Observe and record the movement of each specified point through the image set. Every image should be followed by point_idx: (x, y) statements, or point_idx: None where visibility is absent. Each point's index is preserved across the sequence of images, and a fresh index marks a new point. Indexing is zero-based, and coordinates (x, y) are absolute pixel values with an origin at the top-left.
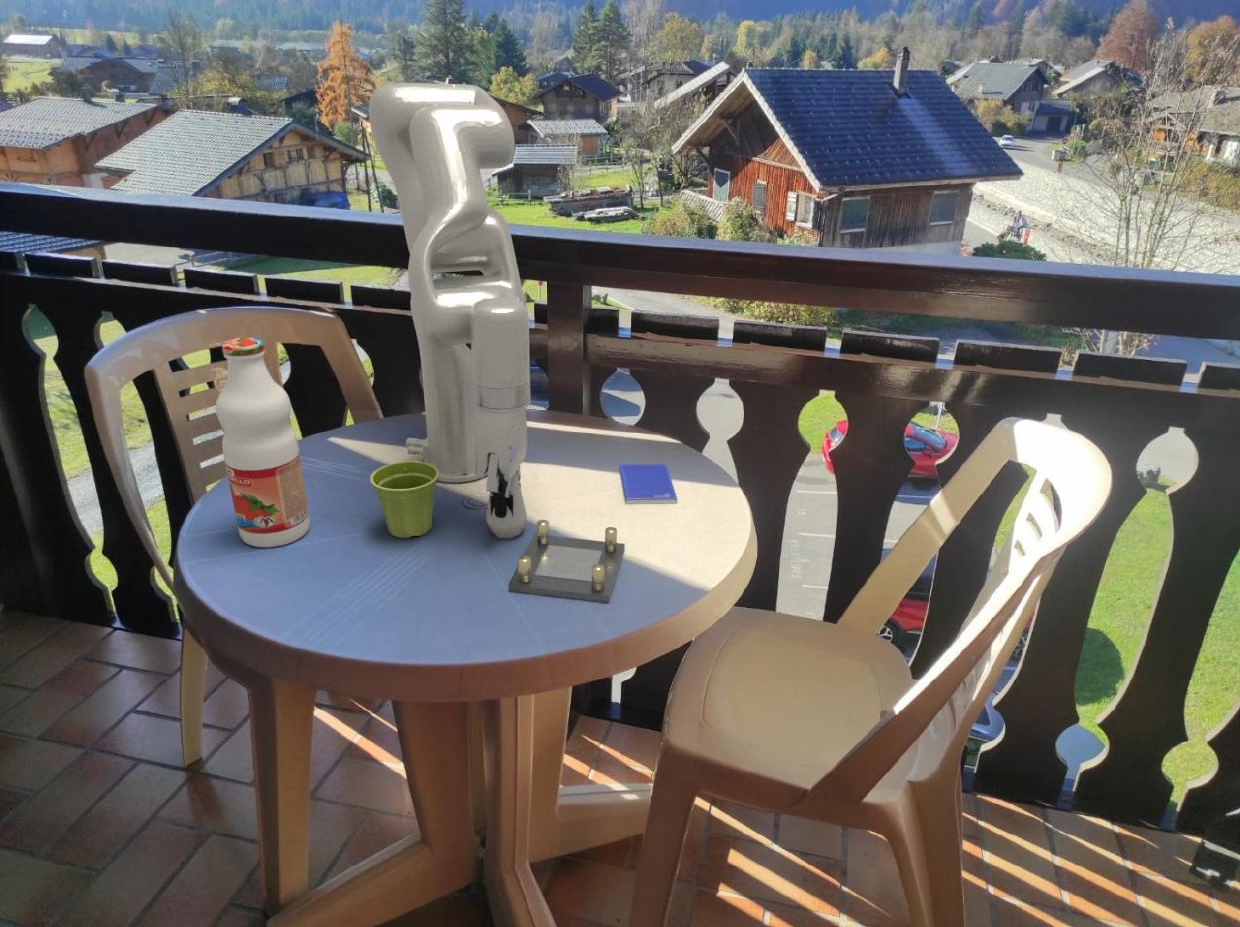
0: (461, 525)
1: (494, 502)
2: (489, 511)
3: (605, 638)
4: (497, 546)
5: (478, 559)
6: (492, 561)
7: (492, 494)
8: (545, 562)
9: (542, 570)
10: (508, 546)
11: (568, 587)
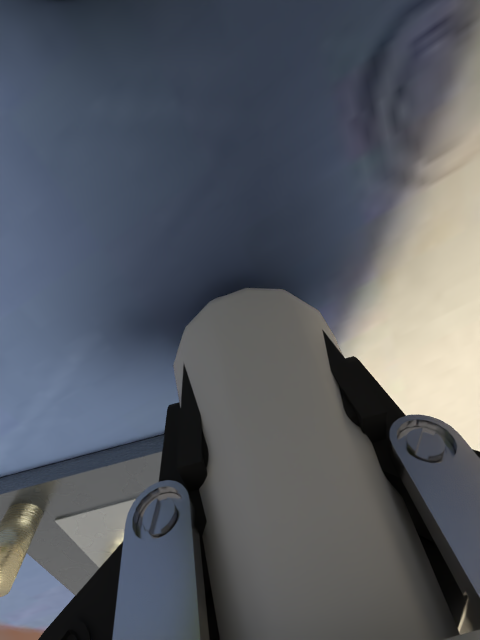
0: (212, 147)
1: (161, 465)
2: (194, 360)
3: (7, 624)
4: (150, 354)
5: (45, 348)
6: (67, 386)
7: (112, 555)
8: (119, 512)
9: (85, 522)
10: (169, 379)
11: (68, 571)
